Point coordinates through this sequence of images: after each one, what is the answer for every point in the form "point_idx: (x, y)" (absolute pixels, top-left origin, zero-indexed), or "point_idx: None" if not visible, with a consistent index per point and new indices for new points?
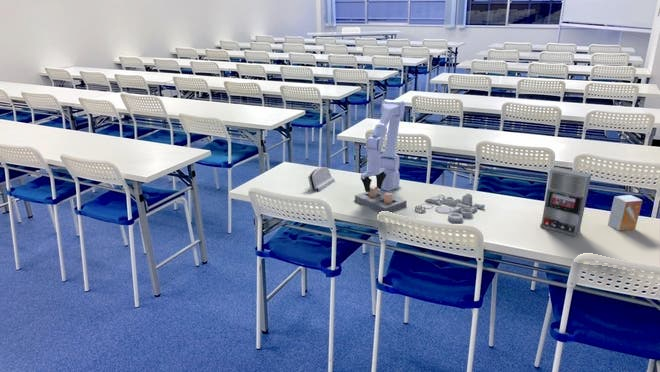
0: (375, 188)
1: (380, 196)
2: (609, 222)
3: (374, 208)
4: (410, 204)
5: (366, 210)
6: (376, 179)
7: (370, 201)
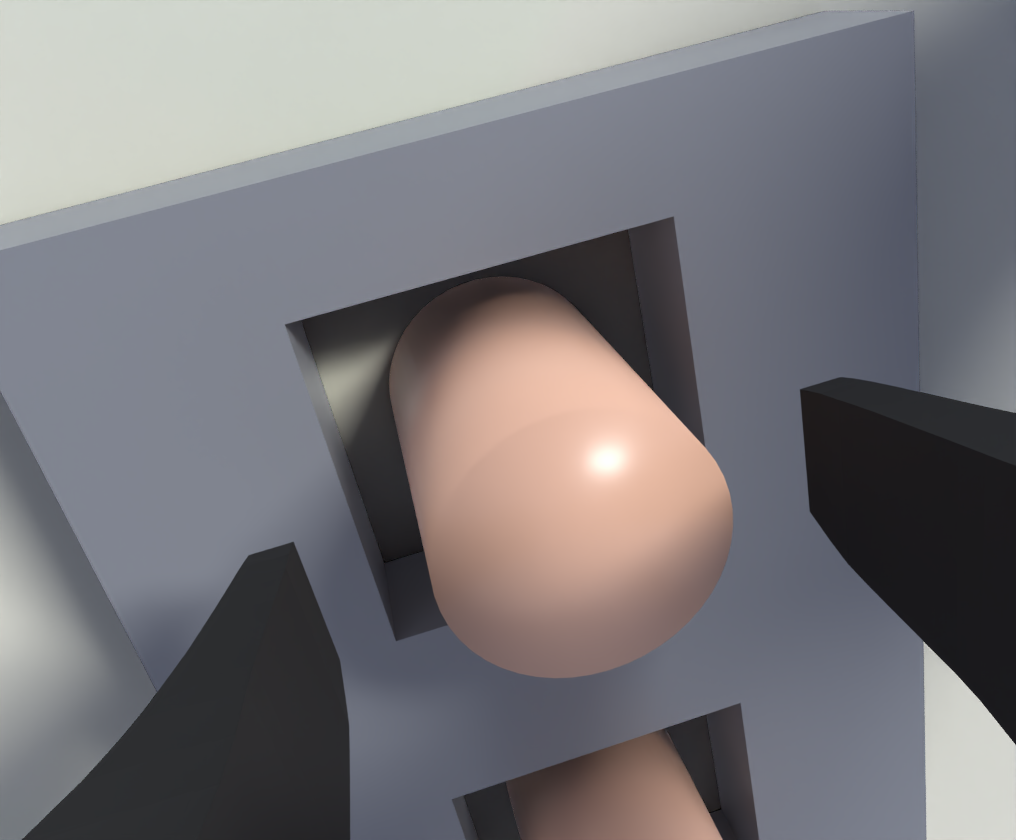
0: (631, 614)
1: None
2: None
3: None
4: (955, 785)
5: None
6: (1014, 465)
7: None
